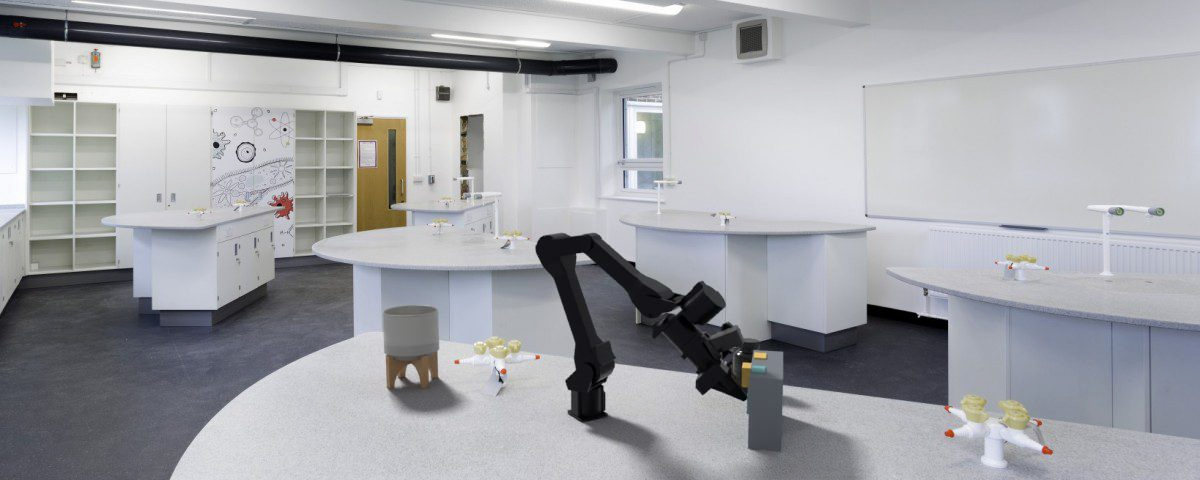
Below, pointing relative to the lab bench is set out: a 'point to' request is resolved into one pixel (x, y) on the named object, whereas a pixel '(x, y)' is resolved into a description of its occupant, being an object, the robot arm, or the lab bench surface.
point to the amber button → (746, 374)
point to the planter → (411, 342)
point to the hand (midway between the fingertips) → (746, 399)
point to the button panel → (765, 401)
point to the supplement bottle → (744, 357)
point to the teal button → (748, 401)
